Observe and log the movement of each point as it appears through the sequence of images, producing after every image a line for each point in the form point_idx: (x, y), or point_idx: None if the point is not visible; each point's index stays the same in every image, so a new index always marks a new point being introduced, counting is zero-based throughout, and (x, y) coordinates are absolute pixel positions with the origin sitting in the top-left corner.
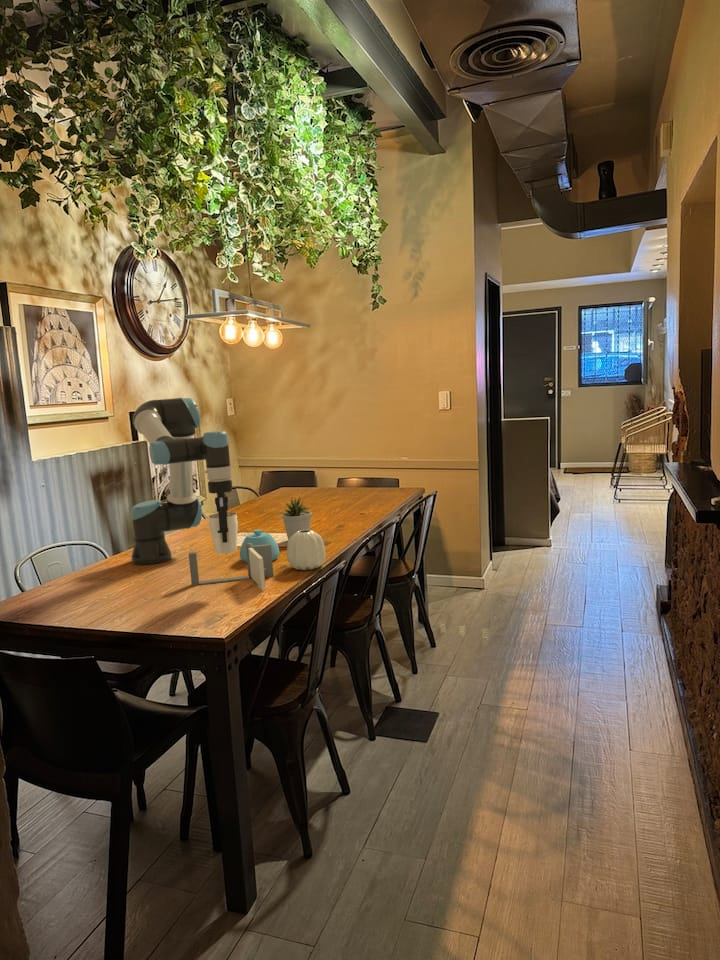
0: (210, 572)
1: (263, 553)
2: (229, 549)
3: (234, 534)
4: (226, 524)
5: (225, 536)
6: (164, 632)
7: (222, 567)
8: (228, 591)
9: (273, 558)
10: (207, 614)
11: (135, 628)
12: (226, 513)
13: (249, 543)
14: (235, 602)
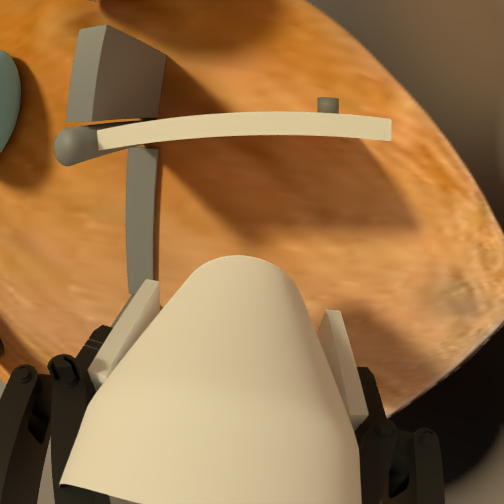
0: (49, 249)
1: (119, 72)
2: (342, 323)
3: (315, 347)
4: (437, 475)
5: (377, 406)
6: (442, 372)
7: (19, 213)
8: (270, 233)
9: (14, 63)
10: (424, 309)
11: (388, 407)
12: (94, 500)
13: (60, 143)
14: (394, 235)
